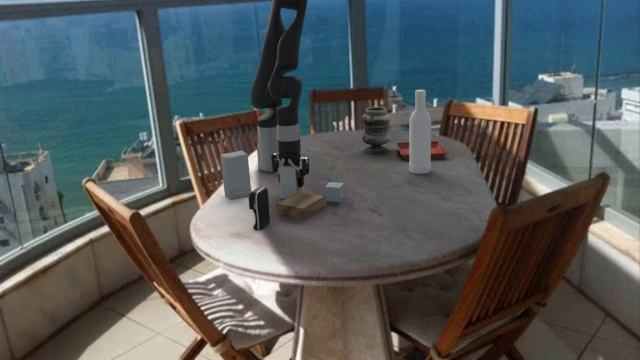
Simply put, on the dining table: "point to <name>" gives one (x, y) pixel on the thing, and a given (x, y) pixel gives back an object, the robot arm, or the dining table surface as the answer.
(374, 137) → the apothecary jar
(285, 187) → the small box
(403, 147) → the plant saucer
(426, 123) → the bottle
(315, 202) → the walnut slab
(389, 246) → the dining table surface
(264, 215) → the battery charger
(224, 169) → the skincare box
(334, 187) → the blue-grey cube
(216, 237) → the dining table surface
